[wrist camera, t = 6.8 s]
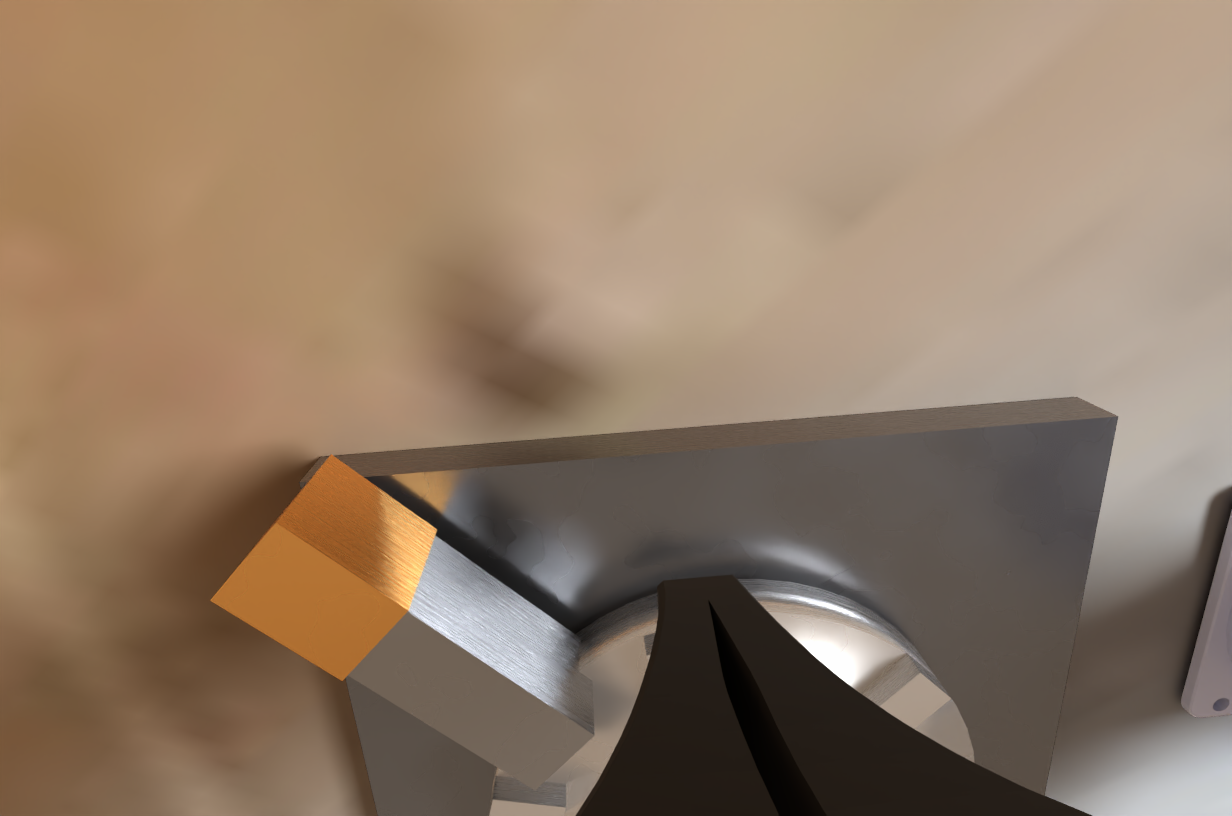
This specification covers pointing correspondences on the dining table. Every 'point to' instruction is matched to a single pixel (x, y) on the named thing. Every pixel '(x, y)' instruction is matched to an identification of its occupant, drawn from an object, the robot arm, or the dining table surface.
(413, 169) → the dining table surface
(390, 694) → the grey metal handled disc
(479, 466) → the base plate
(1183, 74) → the dining table surface
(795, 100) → the dining table surface
